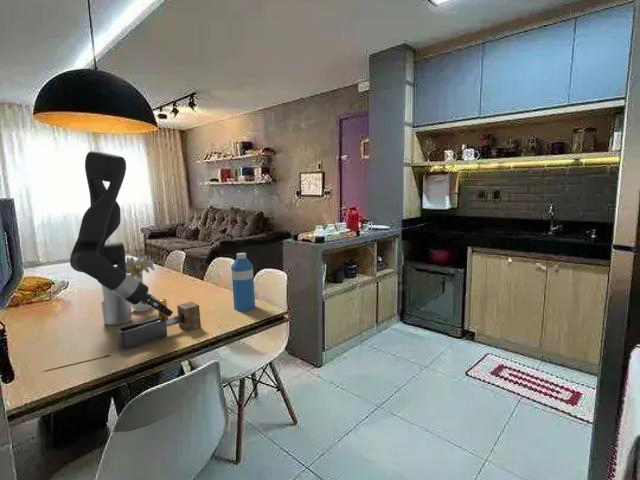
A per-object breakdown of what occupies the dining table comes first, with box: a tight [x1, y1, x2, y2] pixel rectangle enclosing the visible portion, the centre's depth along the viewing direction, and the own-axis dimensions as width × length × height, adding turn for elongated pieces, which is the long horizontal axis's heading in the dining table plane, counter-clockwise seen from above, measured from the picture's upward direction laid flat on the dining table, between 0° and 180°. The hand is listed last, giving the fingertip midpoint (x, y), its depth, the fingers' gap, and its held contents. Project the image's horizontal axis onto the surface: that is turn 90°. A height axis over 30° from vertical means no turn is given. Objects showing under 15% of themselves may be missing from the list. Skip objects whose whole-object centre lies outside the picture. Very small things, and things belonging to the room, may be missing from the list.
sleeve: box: [116, 316, 168, 351], centre depth 123 cm, size 15×5×6 cm, turn 136°
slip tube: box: [143, 298, 184, 327], centre depth 128 cm, size 16×3×11 cm, turn 136°
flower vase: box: [125, 253, 156, 312], centre depth 157 cm, size 13×18×25 cm
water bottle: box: [230, 252, 256, 312], centre depth 155 cm, size 9×9×25 cm
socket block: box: [176, 301, 202, 332], centre depth 135 cm, size 6×7×9 cm
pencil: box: [39, 353, 113, 373], centre depth 109 cm, size 19×1×1 cm
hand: (168, 313), depth 129 cm, fingers closed on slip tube, 3 cm apart
